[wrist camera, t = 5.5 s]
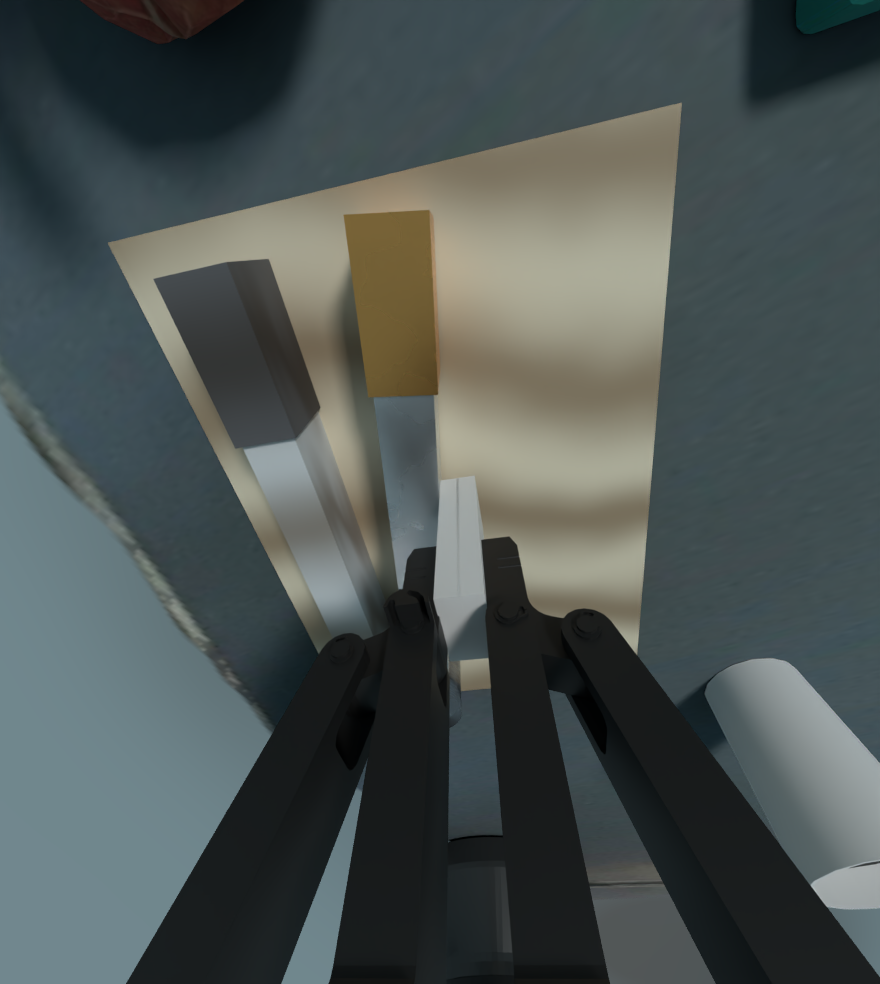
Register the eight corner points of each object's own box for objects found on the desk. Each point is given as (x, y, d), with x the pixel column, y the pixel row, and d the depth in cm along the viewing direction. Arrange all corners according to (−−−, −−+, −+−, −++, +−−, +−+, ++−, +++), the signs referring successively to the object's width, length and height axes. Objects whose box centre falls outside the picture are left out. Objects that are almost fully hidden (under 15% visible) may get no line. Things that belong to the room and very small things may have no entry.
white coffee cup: (680, 682, 28) (784, 879, 19) (784, 638, 25) (957, 841, 17) (721, 726, 30) (829, 918, 21) (819, 690, 28) (985, 890, 19)
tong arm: (460, 672, 26) (461, 730, 23) (409, 672, 26) (403, 730, 23) (447, 216, 14) (446, 207, 10) (350, 221, 14) (321, 214, 11)
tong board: (629, 660, 27) (657, 726, 23) (346, 688, 29) (331, 752, 25) (666, 112, 13) (749, 61, 9) (127, 242, 15) (26, 242, 12)
